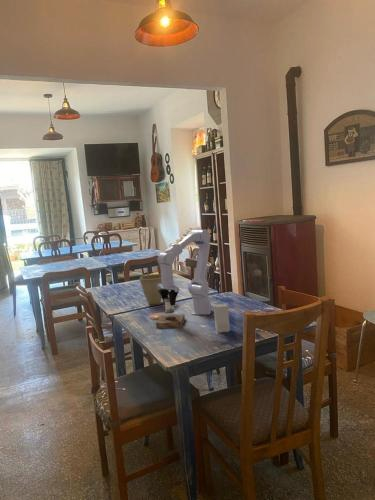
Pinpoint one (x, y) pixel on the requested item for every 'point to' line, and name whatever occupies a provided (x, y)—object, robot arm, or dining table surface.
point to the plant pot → (151, 288)
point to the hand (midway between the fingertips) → (169, 304)
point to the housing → (170, 321)
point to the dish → (156, 316)
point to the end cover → (168, 305)
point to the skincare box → (221, 318)
